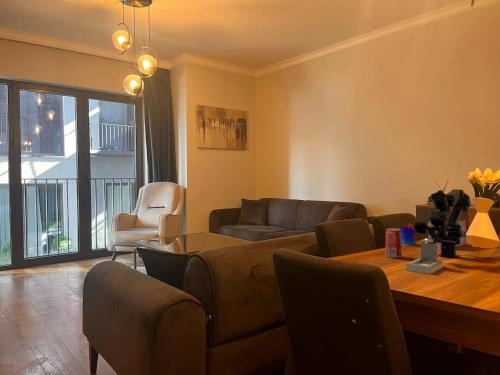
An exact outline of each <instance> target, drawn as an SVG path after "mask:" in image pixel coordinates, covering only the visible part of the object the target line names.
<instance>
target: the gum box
mask: <svg viewBox="0 0 500 375" xmlns="http://www.w3.org/2000/svg"><path fill="white" fill-rule="evenodd" d="M427 224H430V221H428V223H427ZM458 224H460V225H461V227H462V231H463V235H462V237H460V245H456V247H461V246H465V245H467V221H466V219H465V220H460V221H459V223H458ZM436 233H437V231H436ZM427 234H428V237H427V238H431V236H430V235H429V233H428V232H427ZM443 241H445V240H443ZM453 242H456V241H453ZM437 249H440V250H441V243H438V242H437Z"/></svg>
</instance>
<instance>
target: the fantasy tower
mask: <svg viewBox="0 0 500 375" xmlns="http://www.w3.org/2000/svg"><path fill="white" fill-rule="evenodd" d="M400 229H401V230H400V231H401V233H402V247H404V248H412V247H421V243H420V244H417V243H416V234H417V232H416V230H415V227H414V224H412V223H408V224H407V223H405V224H403V225H402V226H401V228H400Z"/></svg>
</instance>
